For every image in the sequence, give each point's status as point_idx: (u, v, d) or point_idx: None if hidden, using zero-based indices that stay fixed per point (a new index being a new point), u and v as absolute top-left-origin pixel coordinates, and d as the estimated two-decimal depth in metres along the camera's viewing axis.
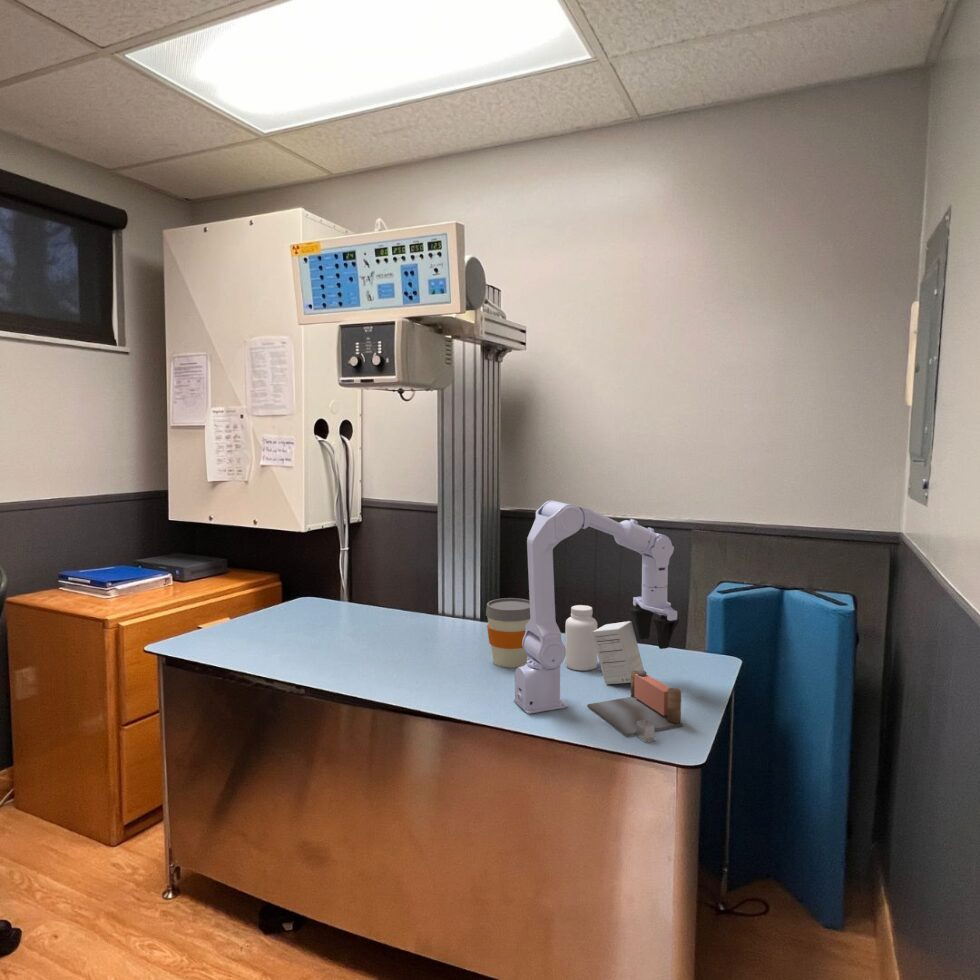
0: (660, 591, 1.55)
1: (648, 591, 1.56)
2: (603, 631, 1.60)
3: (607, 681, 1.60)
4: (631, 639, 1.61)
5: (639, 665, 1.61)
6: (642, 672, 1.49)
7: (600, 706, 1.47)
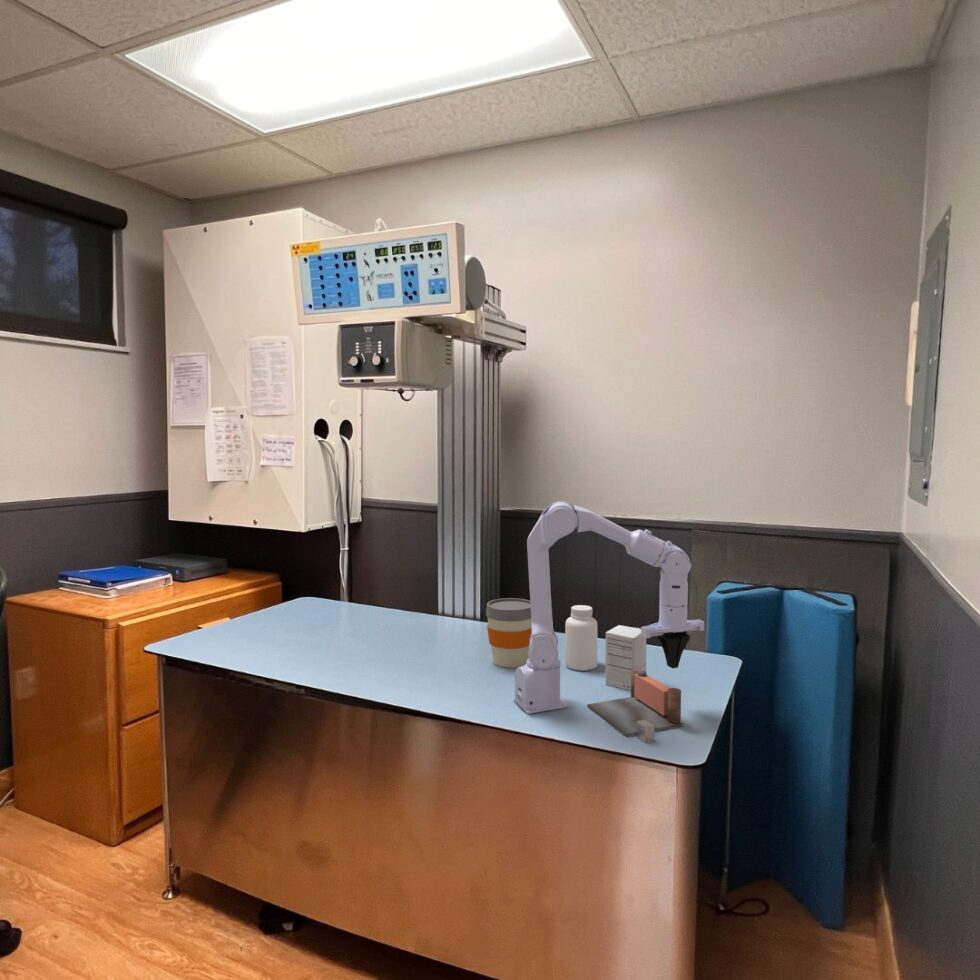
0: None
1: (685, 610, 1.44)
2: (617, 635, 1.58)
3: (608, 682, 1.60)
4: (642, 648, 1.59)
5: None
6: (642, 672, 1.49)
7: (600, 706, 1.47)
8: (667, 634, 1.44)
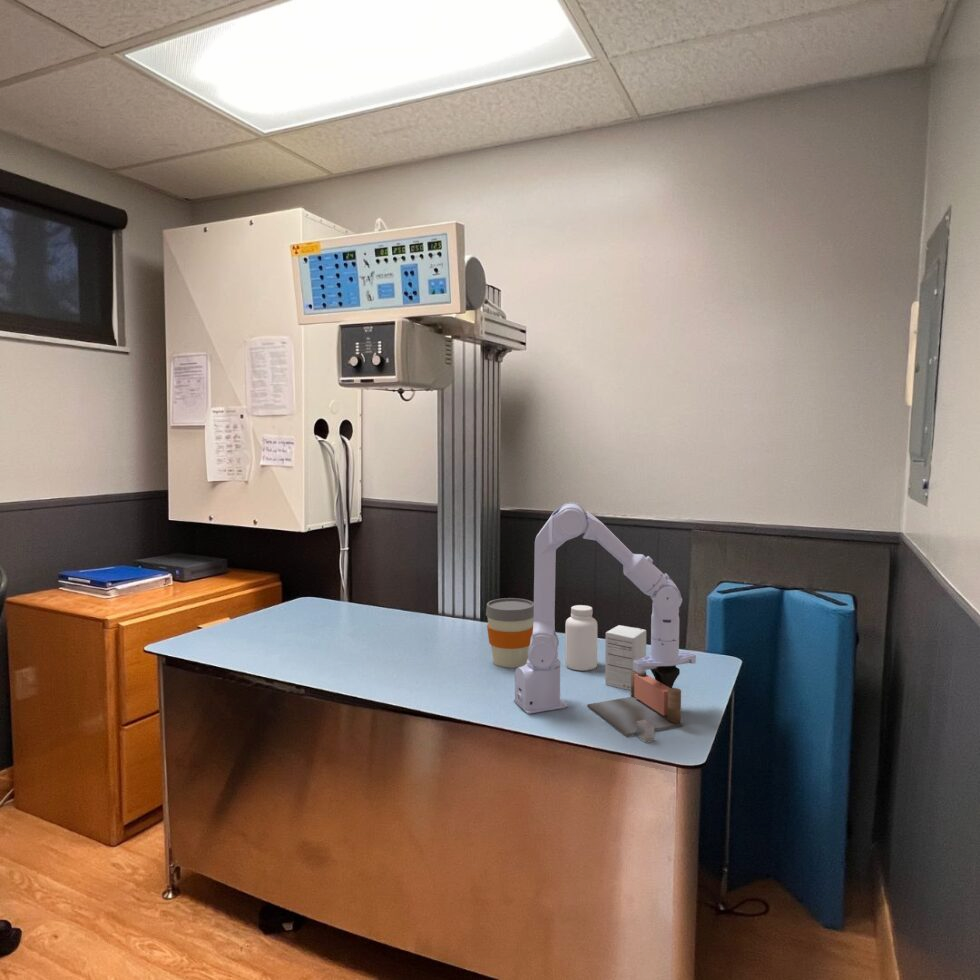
0: None
1: (677, 644, 1.44)
2: (617, 635, 1.58)
3: (608, 682, 1.60)
4: (642, 648, 1.59)
5: None
6: (642, 672, 1.49)
7: (600, 706, 1.47)
8: (658, 668, 1.44)
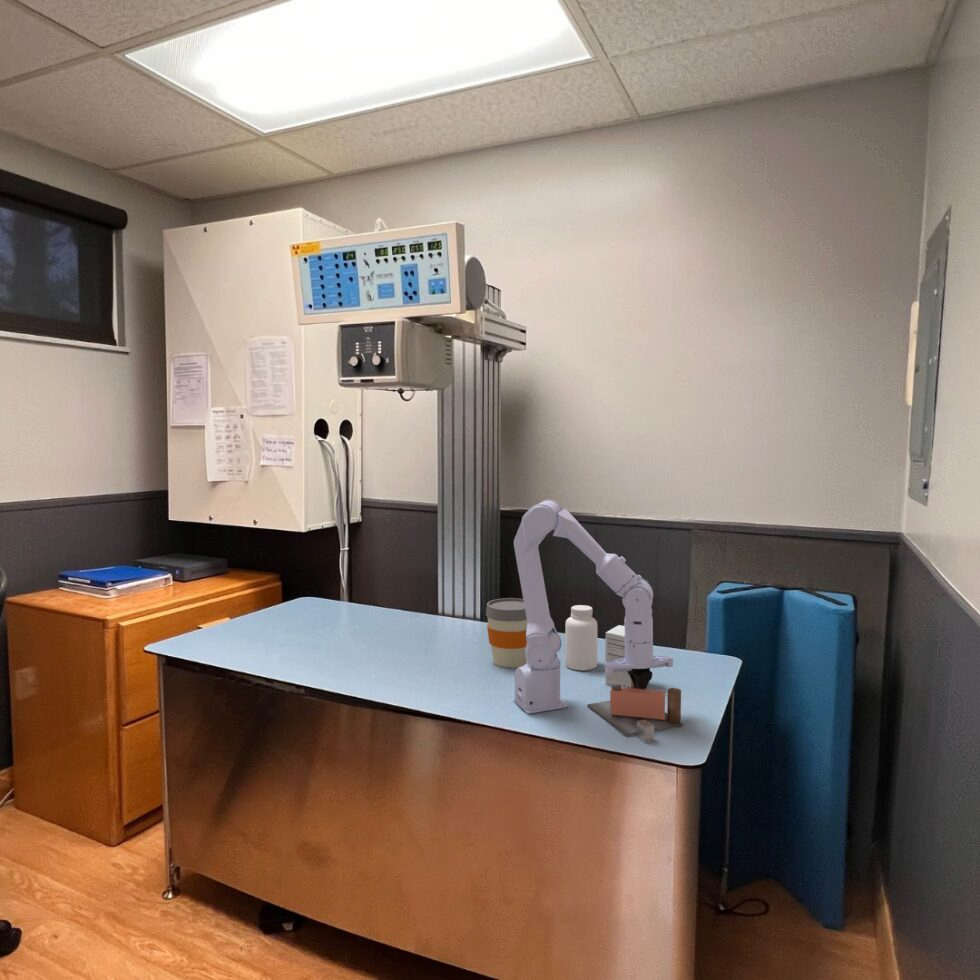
0: None
1: (650, 646, 1.41)
2: (617, 635, 1.58)
3: (608, 682, 1.60)
4: None
5: None
6: (617, 685, 1.42)
7: (600, 706, 1.47)
8: (632, 670, 1.42)
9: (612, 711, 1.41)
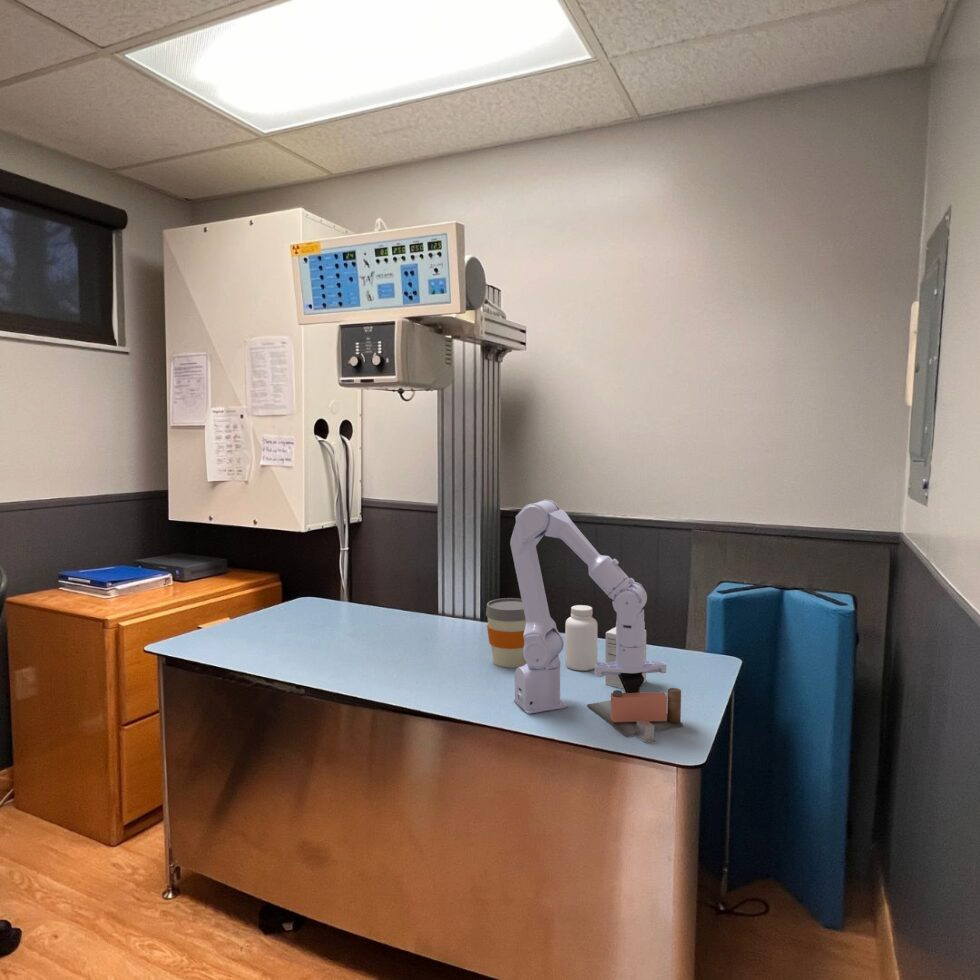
0: None
1: (640, 651, 1.39)
2: None
3: (608, 682, 1.60)
4: None
5: (643, 674, 1.60)
6: (618, 692, 1.38)
7: (600, 706, 1.47)
8: (622, 674, 1.40)
9: (615, 718, 1.38)
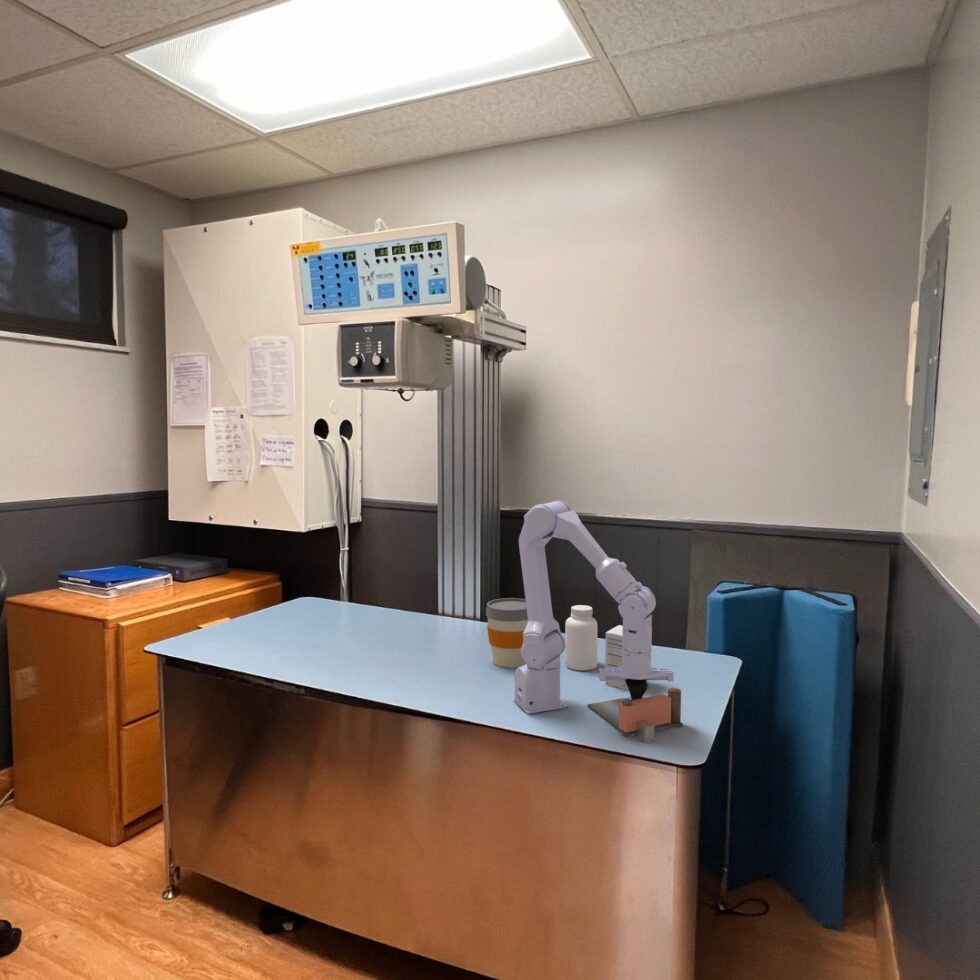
0: None
1: (645, 657, 1.35)
2: (617, 635, 1.58)
3: (608, 682, 1.60)
4: None
5: None
6: (628, 700, 1.34)
7: (600, 706, 1.47)
8: (626, 680, 1.38)
9: (628, 729, 1.33)
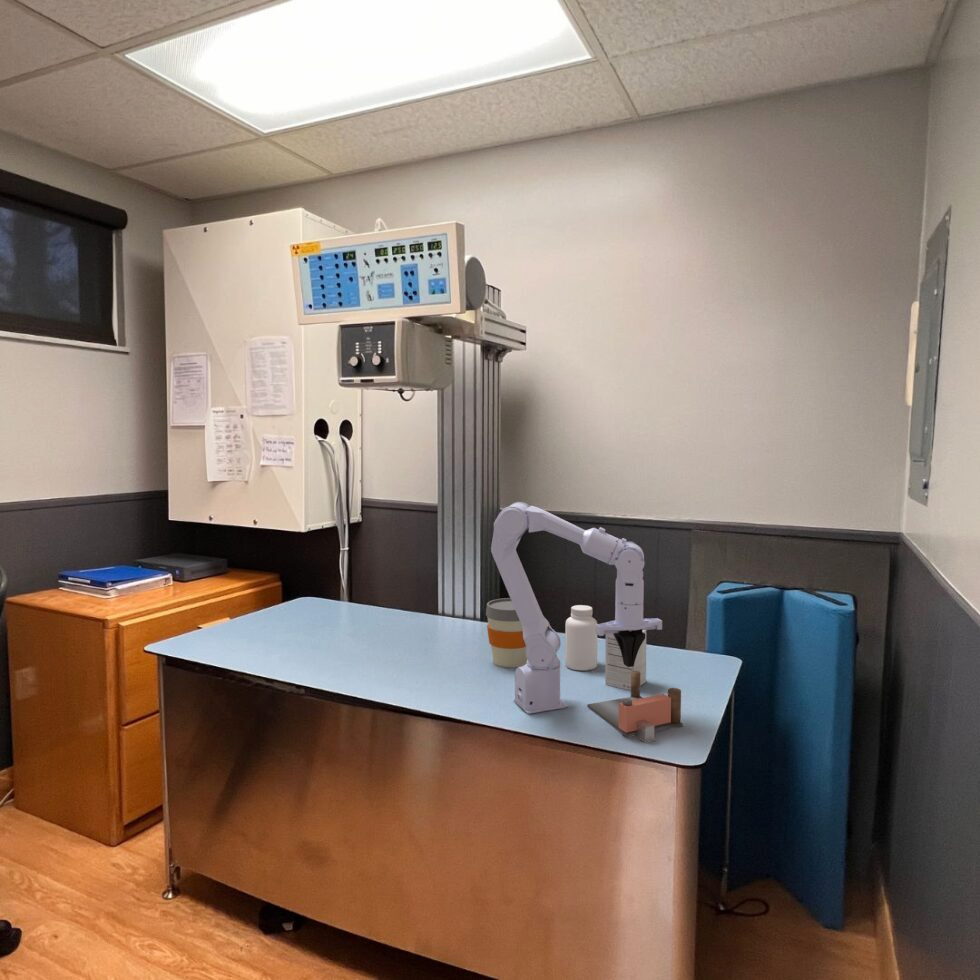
0: None
1: (640, 608, 1.42)
2: None
3: (608, 682, 1.60)
4: (642, 648, 1.59)
5: (643, 674, 1.60)
6: (628, 700, 1.34)
7: (600, 706, 1.47)
8: (622, 632, 1.43)
9: (628, 729, 1.33)
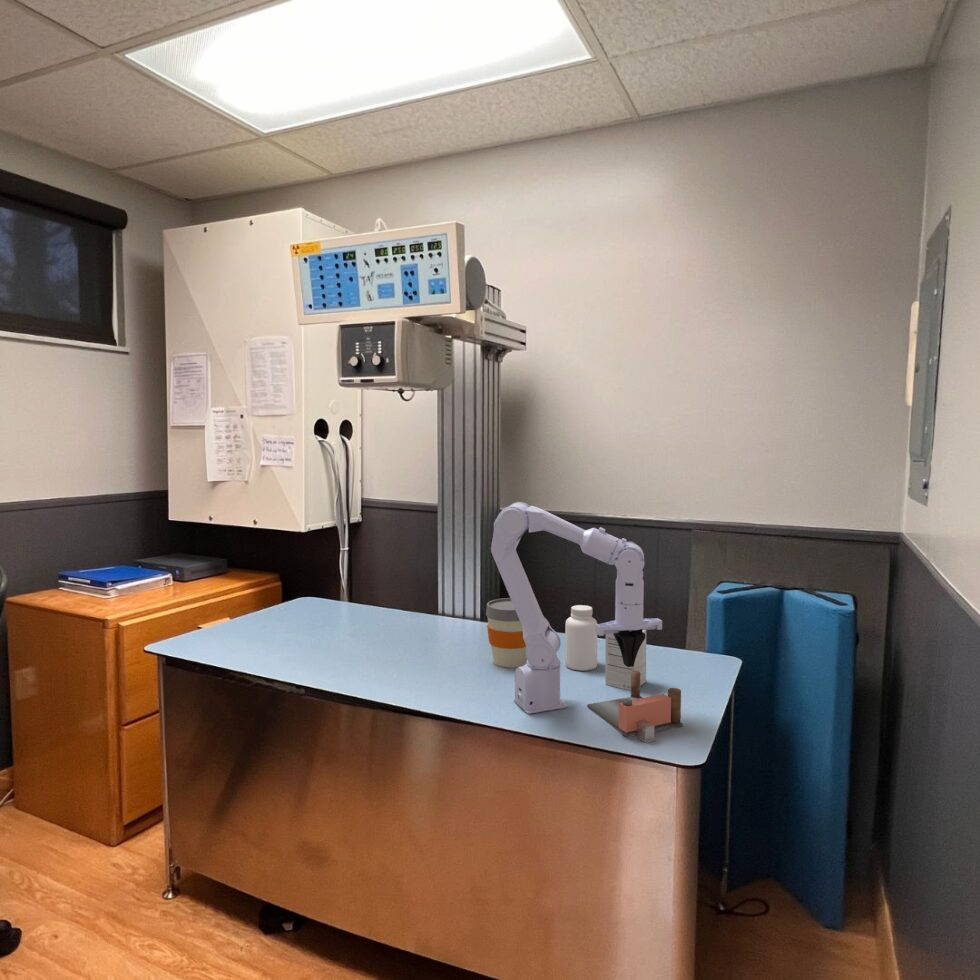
0: None
1: (640, 608, 1.42)
2: None
3: (608, 682, 1.60)
4: (642, 648, 1.59)
5: (643, 674, 1.60)
6: (628, 700, 1.34)
7: (600, 706, 1.47)
8: (622, 632, 1.43)
9: (628, 729, 1.33)
